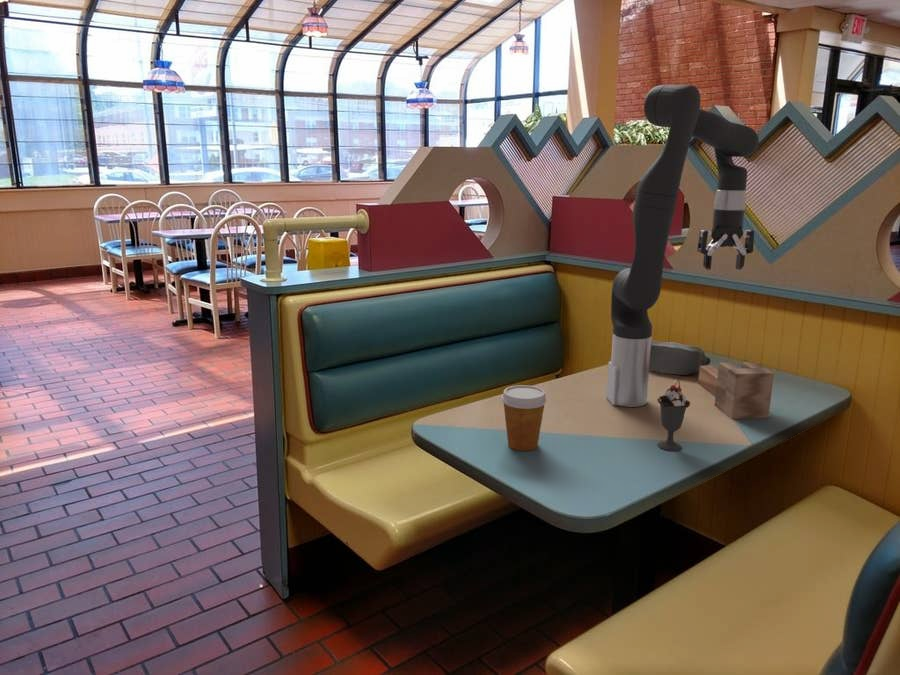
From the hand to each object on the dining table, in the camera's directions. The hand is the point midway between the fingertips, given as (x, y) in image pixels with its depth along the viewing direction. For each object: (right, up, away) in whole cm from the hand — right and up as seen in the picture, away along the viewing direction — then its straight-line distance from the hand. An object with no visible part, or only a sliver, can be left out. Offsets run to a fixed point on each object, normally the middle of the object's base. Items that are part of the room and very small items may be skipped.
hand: (723, 269), depth 190 cm
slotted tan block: (-3, -36, -19) cm, 41 cm away
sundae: (-26, -42, -39) cm, 63 cm away
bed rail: (-4, -33, -8) cm, 34 cm away
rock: (-9, -28, +15) cm, 33 cm away
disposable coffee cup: (-57, -41, -38) cm, 81 cm away
